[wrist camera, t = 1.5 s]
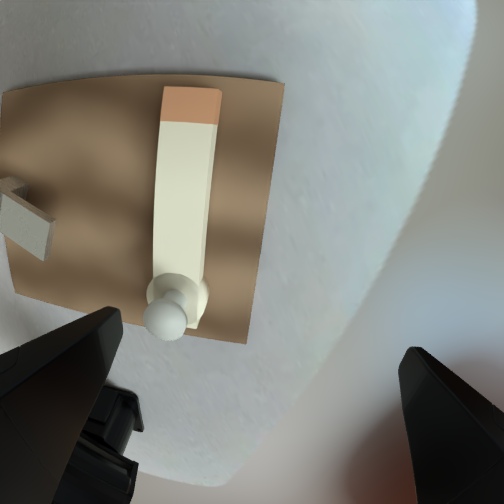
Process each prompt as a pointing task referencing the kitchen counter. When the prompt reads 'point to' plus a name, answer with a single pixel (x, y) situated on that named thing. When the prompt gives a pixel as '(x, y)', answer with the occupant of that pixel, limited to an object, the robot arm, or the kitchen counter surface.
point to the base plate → (136, 191)
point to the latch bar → (181, 210)
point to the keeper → (24, 219)
